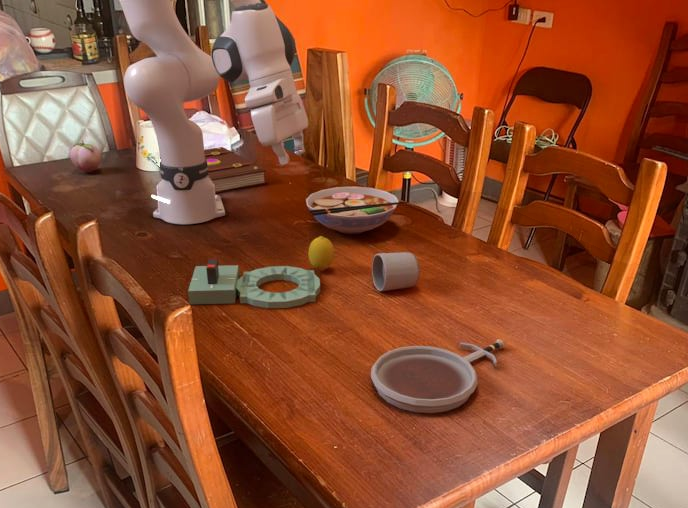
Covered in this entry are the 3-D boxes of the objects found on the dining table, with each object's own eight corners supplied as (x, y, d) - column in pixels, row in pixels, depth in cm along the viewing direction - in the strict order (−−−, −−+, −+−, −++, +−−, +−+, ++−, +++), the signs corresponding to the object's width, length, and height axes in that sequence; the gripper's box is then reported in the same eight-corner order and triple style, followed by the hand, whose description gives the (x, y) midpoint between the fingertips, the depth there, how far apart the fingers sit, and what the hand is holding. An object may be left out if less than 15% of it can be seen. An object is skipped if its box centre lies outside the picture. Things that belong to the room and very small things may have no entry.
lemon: (331, 277, 145) (331, 241, 140) (306, 275, 146) (305, 240, 141) (336, 266, 149) (336, 232, 145) (312, 265, 150) (311, 230, 146)
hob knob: (210, 274, 138) (208, 258, 137) (219, 274, 139) (217, 258, 137) (207, 284, 135) (206, 267, 133) (217, 283, 135) (215, 267, 133)
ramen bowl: (381, 209, 182) (382, 179, 177) (416, 239, 163) (418, 206, 159) (291, 219, 175) (290, 188, 171) (317, 252, 156) (316, 218, 152)
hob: (240, 273, 146) (239, 266, 146) (318, 271, 147) (318, 265, 146) (233, 309, 132) (233, 302, 131) (321, 307, 132) (321, 300, 132)
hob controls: (197, 279, 144) (195, 265, 142) (239, 278, 144) (238, 264, 143) (189, 304, 134) (187, 290, 132) (235, 303, 134) (233, 289, 132)
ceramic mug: (421, 291, 138) (423, 256, 134) (384, 297, 136) (385, 261, 132) (399, 272, 147) (401, 238, 143) (364, 277, 145) (365, 243, 141)
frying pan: (544, 355, 112) (424, 413, 97) (541, 370, 114) (422, 430, 99) (466, 317, 124) (348, 364, 109) (465, 331, 125) (348, 380, 110)
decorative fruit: (109, 170, 214) (104, 138, 209) (92, 177, 208) (86, 144, 202) (86, 167, 217) (80, 135, 212) (68, 174, 211) (61, 141, 206)
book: (224, 159, 224) (222, 144, 222) (267, 184, 201) (266, 167, 199) (158, 170, 214) (156, 154, 212) (196, 197, 191) (194, 179, 189)
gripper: (278, 88, 146) (296, 152, 152) (240, 101, 129) (262, 172, 135) (305, 80, 144) (322, 145, 150) (269, 93, 127) (290, 166, 132)
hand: (293, 158), depth 142 cm, fingers open, 8 cm apart
